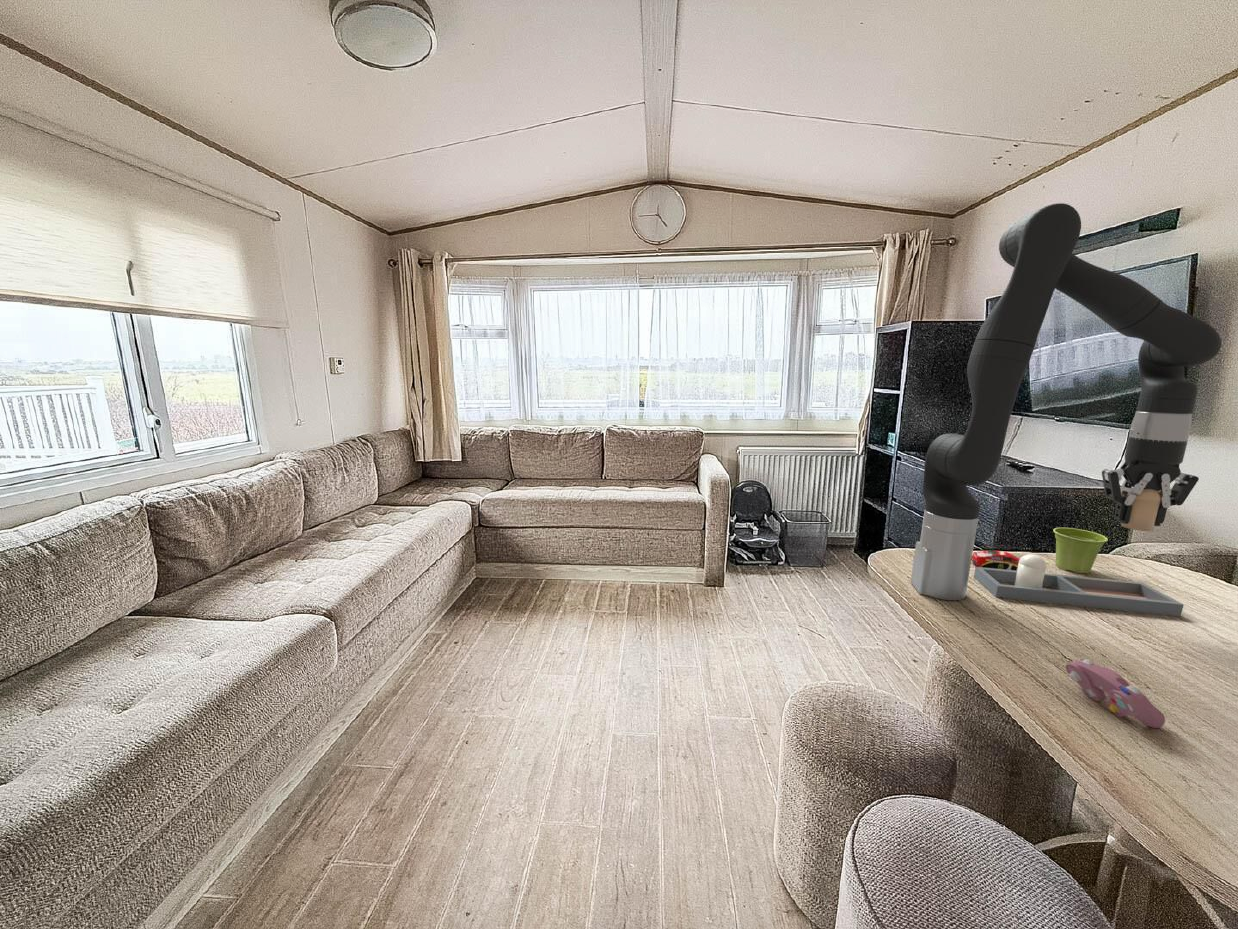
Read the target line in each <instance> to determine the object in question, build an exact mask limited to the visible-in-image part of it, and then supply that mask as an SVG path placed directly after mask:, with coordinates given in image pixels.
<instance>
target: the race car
mask: <svg viewBox="0 0 1238 929" xmlns="http://www.w3.org/2000/svg"><path fill="white" fill-rule="evenodd" d="M1020 558H1021V557H1018V556H1016V555H1015V554H1013V553H1010V552H1009V551H1008V552H1007V551H1003V550H983V551H973V553H972V559H971V563H973V565H976V567H983V568H993V569H1004V570H1014V571H1017V569H1018V564H1019V560H1020Z"/></svg>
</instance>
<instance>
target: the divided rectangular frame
mask: <svg viewBox="0 0 1238 929" xmlns="http://www.w3.org/2000/svg"><path fill="white" fill-rule="evenodd" d="M1016 574H1017V571H1014V570H1004V569H993V568H983V567H979V566H975V568H974V574H973V578H974V580H976V581H977V582H978V583H979V584H981V586H983V588H985V589H986V590H987V589H988V590H989V592H990V593H991V594H992V595H993V596H994V597H995V598H1000V597H1003V598H1002V599H1009V598H1010V599H1011V600H1019V601H1030V602H1038V601H1040V603H1050V604H1056V605H1067V606H1068V605H1069V606H1078V607H1085V608H1086V607H1087V608H1094V609H1105V610H1114V611H1122V612H1123V611H1124V612H1133V613H1143V614H1151V613H1152V615H1160V614H1161V615H1162V616H1169V615H1171V616H1170V617H1179V616H1180V617H1179V618H1181V616H1182V613H1183V608H1184V604H1183V603H1181V602H1180V601H1177V600H1176V599H1174V598H1172V597H1171V596H1169V595H1167V594H1164V593H1163V592H1161V591H1159V590H1157V589H1155V588H1153V587H1152V586H1150V585H1149V584H1146V583H1144V582H1140V581H1139V582H1138V581H1131V580H1130V581H1129V580H1128V581H1127V580H1119V579H1109V578H1108V579H1107V578H1106V579H1105V578H1099V577H1098V578H1097V577H1096V578H1095V577H1085V576H1075V575H1067V574H1066V575H1063V574H1055V573H1054V574H1053V573H1046V572H1045V575H1044V580H1043V585H1042V588H1032V587H1022V586H1014V584H1015V580H1016ZM1000 582H1002V583H1012V584H1013V585H1010V584H1002V583H1000ZM1043 587H1052V588H1055V589H1050V588H1043ZM988 590H987V591H988Z"/></svg>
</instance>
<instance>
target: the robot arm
mask: <svg viewBox="0 0 1238 929" xmlns="http://www.w3.org/2000/svg"><path fill="white" fill-rule="evenodd" d="M1081 230H1082V221H1081V217H1080V214H1079V212H1078V211H1077V209H1075V207H1074V206H1072V205H1070V204H1069V203H1065V202H1064V203H1063V202H1060V203H1053V204H1052V203H1051V204H1048V205H1046V206H1043V207H1041V208H1038V209H1037V210H1035V211H1033V212H1031V213H1029V214H1027V215H1026V216H1024V217H1022V218H1021V219H1019V220H1018V221H1015V222H1014V223H1013V224H1012V225H1010V226H1009V227H1008V228H1007V229H1006V230H1005V231H1004V232H1003V233H1002V235H1001V238H1000V239H999V243H998V251H999V255H1000V257H1001V258H1002V260H1003V261H1004V262H1005V263H1007V264H1008V265H1009V266H1011V267H1012V268H1013V271H1012V274H1011V276H1010V279H1009V281H1008V283H1007V286H1006V287H1005V290H1004V291H1003V293H1002V295H1001V296H1000V298H999V299H998V301H997V302H996V304H995V305H994V306H993V308H992V309H991V311H989V313H988V315H987V317H986V319H985V320H984V322H983V323H982V325H981V326H980V329H979V330H978V333H977V335H976V337H975V340H974V341H973V345H972V349H971V351H970V355H969V359H968V361H967V367H966V373H967V382H968V387H969V392H970V396H971V404H972V405H971V414H970V419H969V421H968V424H967V427H966V429H965V430H966V431H965V433H964V434H959V433H951V432H950V433H944V434H940V435H938V436H937V437H936V438H935V439H933V441H932V442H931V443H930V445H929V447H928V449H927V451H926V452H927V453H926V455H925V460H924V461H925V462H924V469H923V470H924V471H923V482H922V483H923V484H922V494H923V498H924V503H925V504H924V505H925V506H924V513H923V517H922V518H923V519H922V527H921V534H920V540H919V541H916V542H915V546H914V547H915V548H914V555H913V563H912V570H911V576H910V584H911V585H912V586H913V587H914V588H915V590H916V591H917V592H918V594H920V595H925V596H929V597H932V598H935V599H940V600H945V601H960V600H961V601H962V600H964V599H965V598H966V596H967V589H968V584H969V575H970V571H971V564H972V560H971V559H972V556H973V554H974V546H975V540H976V533H977V528H978V522H979V517H980V513H981V512H980V510H981V504H980V503H979V501H978V500H977V499H976V498H975V497H974V496H973V495H972V494H971V492H970V490H969V488H968V486H971V487H972V486H973V487H975V486H979V485H982V484H984V483H986V482H987V481H989V480H990V479H991V478H992V477H993V475H994V474H995V472H996V470H997V469H998V466H999V464H1000V461H1001V458H1002V455H1003V449H1004V444H1005V441H1006V436H1007V431H1008V428H1009V423H1010V420H1011V415H1012V412H1013V410H1014V405H1015V402H1016V400H1017V397H1018V393H1019V390H1020V387H1021V385H1022V381H1023V378H1024V376H1025V374H1026V371H1027V369H1028V367H1029V364H1030V360H1031V357H1032V355H1033V353H1034V350H1035V347H1036V345H1037V344H1036V343H1037V340H1038V337H1039V334H1040V331H1041V328H1042V326H1043V322H1044V320H1045V317H1046V314H1047V312H1048V309H1049V307H1050V303H1051V301H1052V300H1051V299H1052V297H1053V295H1054V292H1055V290H1057V291H1059V292H1060V293H1062V294H1064V295H1066V296H1067V297H1068V298H1071V300H1074V301H1075V302H1077V303H1079V304H1080V305H1081V306H1083V307H1085V309H1087V310H1088V311H1090V312H1091V313H1092V314H1094V315H1095V316H1096V317H1098V318H1100V320H1102V321H1103V322H1105V324H1107V325H1108V326H1110V327H1111V328H1112V329H1113V330H1115V331H1116V332H1118V333H1119V334H1121V335H1123V336H1125V337H1128V338H1135V339H1139V340H1142V341H1143V342H1142V343H1141V345H1140V347H1139V352H1138V358H1137V361H1138V362H1137V363H1138V373H1139V374H1138V375H1139V381H1140V388H1141V389H1140V394H1139V398H1138V402H1137V406H1136V411H1135V414H1134V417H1133V419H1132V421H1131V425H1130V430H1129V434H1128V438H1127V442H1126V448H1125V452H1124V463H1122V465H1121V466H1120V468H1116V469H1111V470H1110V469H1103V470H1102V471H1101V478H1102V482H1103V488H1104V494H1105V498H1106V499H1109V500H1112V501H1114V502H1116V503H1115V504H1116V506H1115V509H1114V511H1115V512H1114V519H1115V521H1116V522H1118V523H1120V524H1121V523H1122V524H1128V523H1129V519H1130V515H1131V510H1132V506H1131V504H1132V503H1133V501H1134V500H1135V498H1136V497H1137V496H1138V495H1140V494H1141V492H1142V491H1143V490H1145V489H1153V490H1156V491H1157V492H1158V493H1159V494H1160V497H1161V500H1160V504H1159V508H1158V513H1157V517H1156V521H1155V525H1154V527H1160V526H1161V524H1163V523H1164V522H1165V518H1166V514H1167V511H1168V508H1170V507H1171V506H1182V505H1183V504H1184V502H1186V500H1187V498H1188V497H1189V495H1190V494H1191V492H1192V491H1193V489H1194V487H1195V486H1196V484H1198V482H1199V477H1198V476H1196V475H1193V474H1188V473H1184V472H1182V471H1181V468H1180V464H1182V463H1183V462H1184V457H1185V455H1186V454H1185V453H1186V450H1187V446H1188V441H1189V437H1190V432H1191V430H1192V428H1191V427H1192V419H1193V411H1194V407H1195V403H1196V401H1197V400H1196V399H1197V396H1198V386H1197V384H1196V383H1195V382H1193V381H1190V380H1188V379H1187V378H1186V377H1185V367H1192V366H1193V367H1194V366H1199V365H1202V364H1205V363H1208V362H1209V361H1211V360H1212V359H1214V358H1215V357H1217V355H1218V354H1219V353H1220V350H1221V349H1222V348H1221V347H1222V339H1221V336H1220V334H1219V332H1217V330H1216V329H1215V328H1214V327H1213V326H1211V325H1210V324H1209V323H1208V322H1205V321H1204V320H1202V319H1200V318H1198V317H1196V316H1194V315H1192V314H1189V313H1187V312H1185V311H1182V310H1180V309H1177V308H1175V307H1172V306H1170V305H1168V304H1167V303H1165V302H1164V301H1163V300H1162V299H1161V298H1159V297H1158V296H1157V295H1155V294H1154V293H1153V292H1151V291H1150V290H1149V289H1147V288H1146V287H1144V286H1143V285H1142V284H1140V283H1138V282H1137V281H1135V280H1134V279H1131V278H1129V277H1127V276H1125V275H1122V274H1119V273H1116V272H1114V271H1112V270H1108V269H1105V268H1102V267H1100V266H1097V265H1094V264H1092V263H1090V262H1088V261H1086V260H1084V259H1082V258H1080V257H1079V256H1076V255H1075V254H1074V253H1073V252H1074V250H1075V248H1076V245H1077V243H1078V241H1079V238H1080V234H1081ZM1122 477H1123V479H1125V480H1124V481H1123V483H1122V484H1121V483H1120V481H1121V480H1122ZM1173 482H1175V483H1174V484H1173V485H1172V487H1171V484H1172V483H1173ZM1120 484H1121V485H1120Z"/></svg>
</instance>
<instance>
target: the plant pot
mask: <svg viewBox="0 0 1238 929" xmlns="http://www.w3.org/2000/svg"><path fill="white" fill-rule="evenodd" d="M1052 532H1053V533H1054V538H1055V542H1056V543H1055V566H1056V567H1058V568H1060V569H1061V570H1065V571H1071V572H1073V573H1077V574H1088V573H1090V572H1091V570H1092V568H1093V566H1094V563H1095V562H1096V559H1097V556H1098V554H1099V552H1100V551H1101V548H1102V547H1104V545H1105V543H1107V542H1108V540H1109V539H1108V537H1106V536H1104V535H1103V534H1100V533H1097V532H1094V531H1090V530H1085V529H1079V528H1074V527H1056V528H1053V531H1052Z"/></svg>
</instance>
